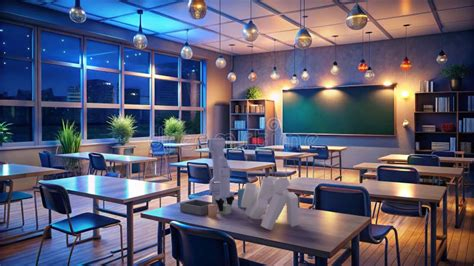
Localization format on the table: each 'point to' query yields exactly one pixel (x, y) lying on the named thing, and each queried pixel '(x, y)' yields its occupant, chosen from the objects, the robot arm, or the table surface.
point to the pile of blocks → (270, 201)
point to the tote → (195, 207)
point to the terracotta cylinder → (212, 210)
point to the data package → (240, 197)
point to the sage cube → (226, 209)
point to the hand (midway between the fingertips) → (225, 210)
